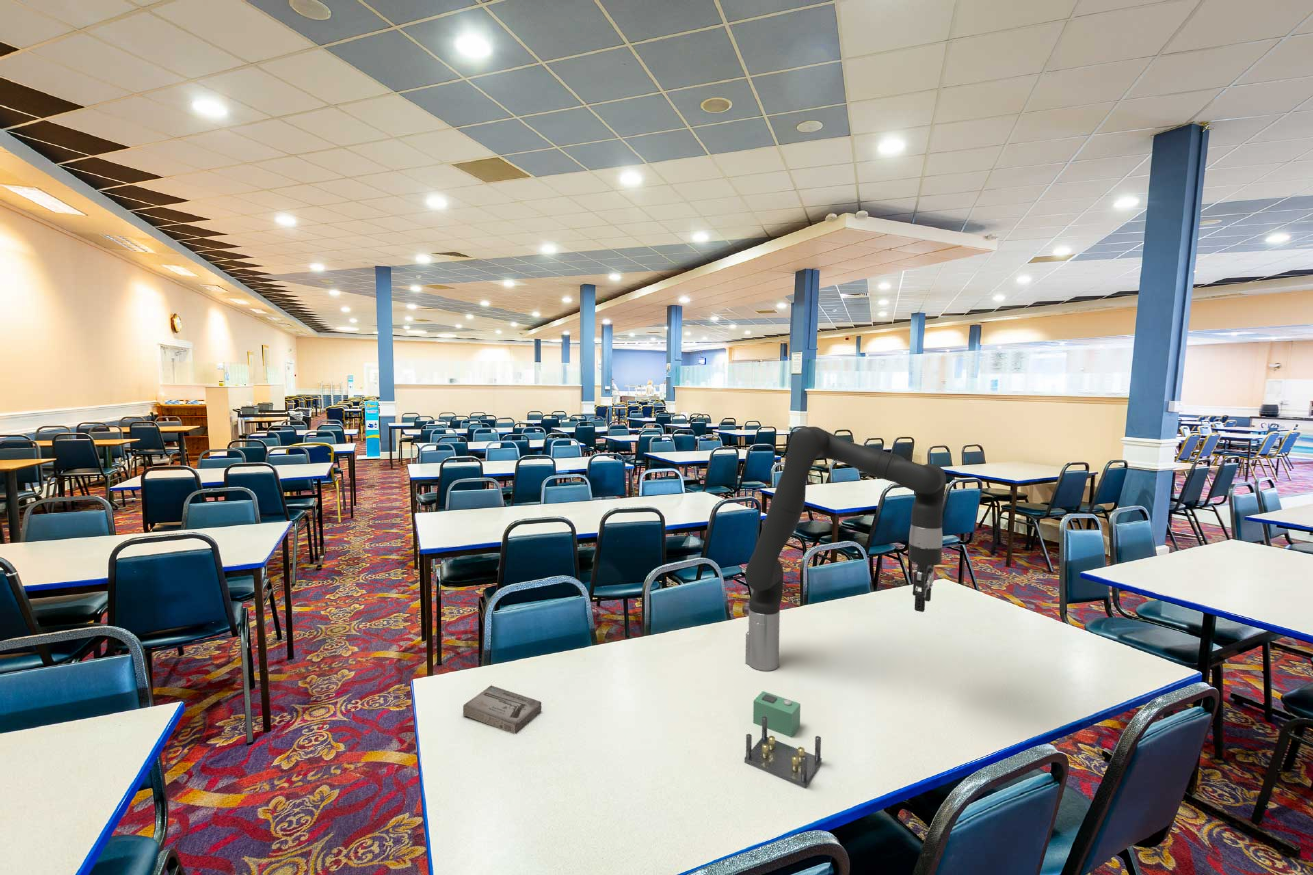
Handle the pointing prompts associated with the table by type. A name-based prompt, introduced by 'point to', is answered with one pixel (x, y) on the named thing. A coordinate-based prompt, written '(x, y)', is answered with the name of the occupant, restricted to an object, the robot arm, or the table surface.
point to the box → (502, 709)
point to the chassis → (783, 758)
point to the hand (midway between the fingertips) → (922, 605)
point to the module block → (777, 713)
